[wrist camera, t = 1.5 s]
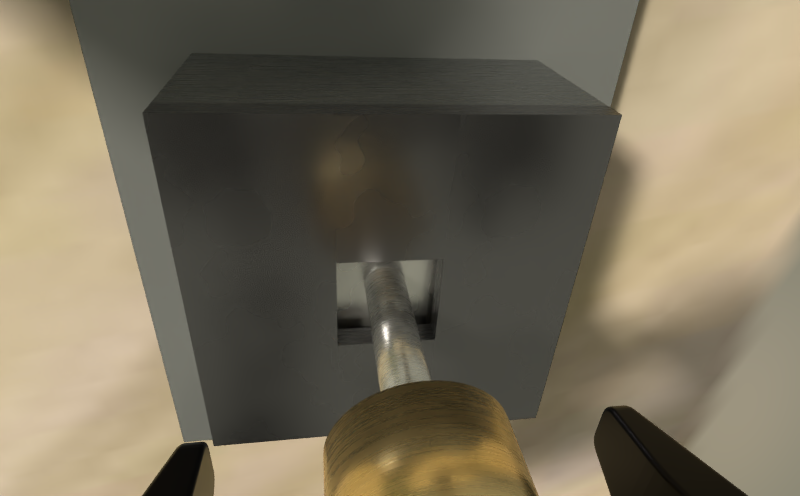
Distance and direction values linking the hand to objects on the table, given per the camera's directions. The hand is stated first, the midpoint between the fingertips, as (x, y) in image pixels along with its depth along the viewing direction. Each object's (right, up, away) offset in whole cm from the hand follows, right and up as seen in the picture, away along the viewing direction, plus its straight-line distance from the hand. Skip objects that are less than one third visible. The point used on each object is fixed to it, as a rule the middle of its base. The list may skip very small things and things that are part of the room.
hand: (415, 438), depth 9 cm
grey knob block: (-1, +4, +7) cm, 8 cm away
